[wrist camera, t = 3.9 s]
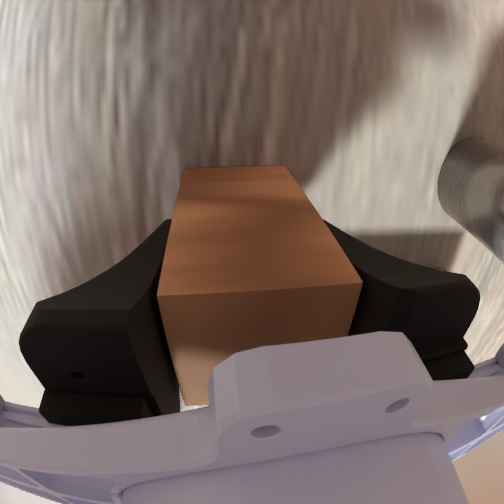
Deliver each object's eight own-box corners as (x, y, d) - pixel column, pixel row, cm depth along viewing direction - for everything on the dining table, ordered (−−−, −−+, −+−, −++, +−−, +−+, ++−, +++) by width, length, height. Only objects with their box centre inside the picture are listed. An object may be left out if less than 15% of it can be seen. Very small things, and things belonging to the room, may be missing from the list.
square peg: (191, 254, 15) (185, 405, 8) (184, 168, 13) (156, 295, 6) (279, 250, 15) (327, 392, 9) (284, 165, 13) (363, 282, 6)
